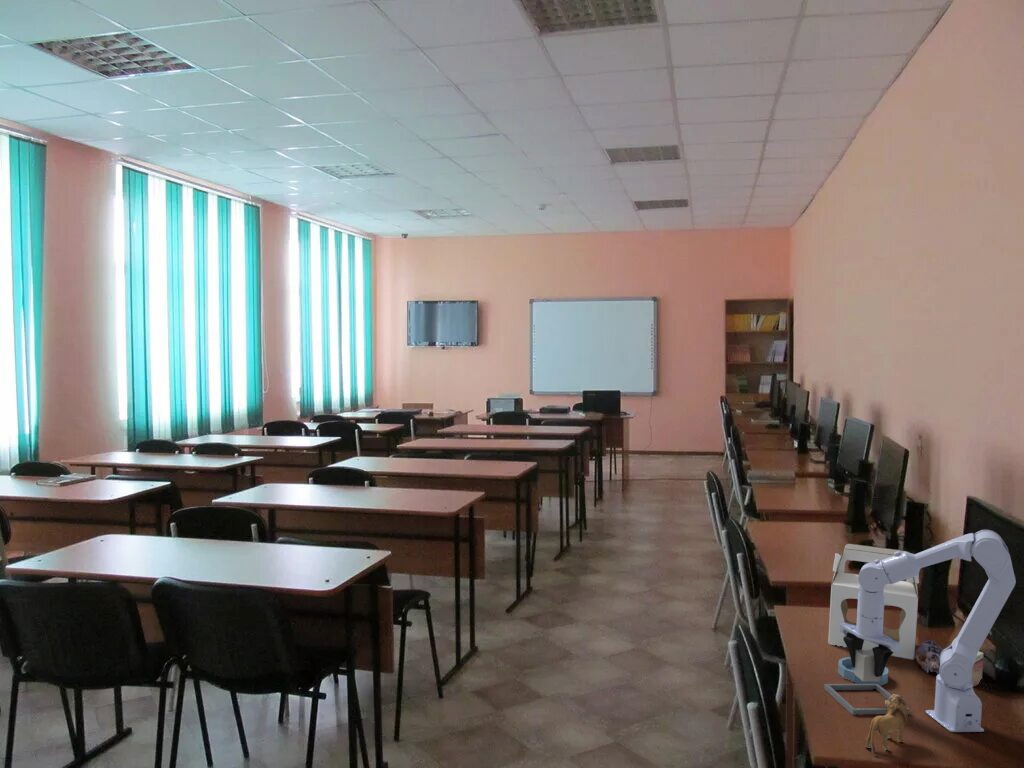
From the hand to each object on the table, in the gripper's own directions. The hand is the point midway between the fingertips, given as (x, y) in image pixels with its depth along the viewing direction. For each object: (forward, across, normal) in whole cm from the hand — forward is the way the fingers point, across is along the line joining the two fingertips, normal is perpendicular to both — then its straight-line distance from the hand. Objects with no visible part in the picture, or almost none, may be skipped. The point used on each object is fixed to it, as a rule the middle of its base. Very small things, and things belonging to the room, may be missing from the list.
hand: (867, 671), depth 188 cm
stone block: (+2, 0, 0) cm, 2 cm away
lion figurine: (+8, -14, +14) cm, 21 cm away
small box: (+8, -6, -34) cm, 35 cm away
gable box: (+8, +22, -34) cm, 42 cm away
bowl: (+7, +10, -12) cm, 17 cm away
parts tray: (+7, 0, 0) cm, 7 cm away
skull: (+8, +4, -34) cm, 35 cm away
